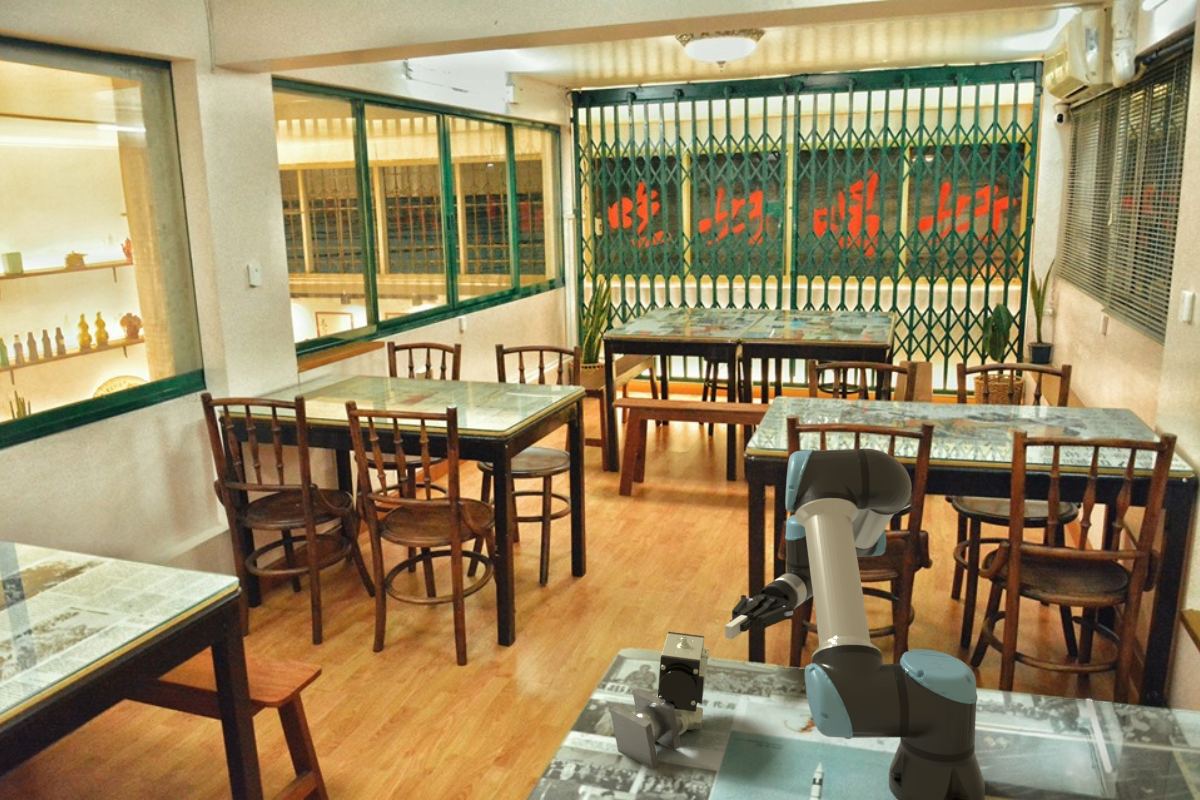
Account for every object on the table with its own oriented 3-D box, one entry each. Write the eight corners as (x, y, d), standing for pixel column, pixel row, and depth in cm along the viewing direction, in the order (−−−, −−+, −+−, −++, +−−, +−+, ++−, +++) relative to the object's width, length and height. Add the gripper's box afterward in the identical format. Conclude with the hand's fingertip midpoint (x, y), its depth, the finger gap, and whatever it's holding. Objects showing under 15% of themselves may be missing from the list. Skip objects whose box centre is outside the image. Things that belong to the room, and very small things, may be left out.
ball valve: (699, 752, 168) (707, 658, 166) (652, 745, 170) (660, 652, 168) (705, 710, 186) (712, 624, 184) (663, 704, 187) (669, 619, 185)
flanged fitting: (680, 746, 170) (673, 704, 167) (652, 769, 165) (645, 727, 163) (645, 728, 177) (638, 688, 174) (617, 750, 172) (609, 709, 169)
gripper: (809, 617, 205) (757, 657, 186) (757, 605, 213) (701, 642, 195) (809, 585, 203) (756, 622, 185) (756, 574, 211) (700, 608, 193)
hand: (728, 632), depth 190 cm, fingers closed
